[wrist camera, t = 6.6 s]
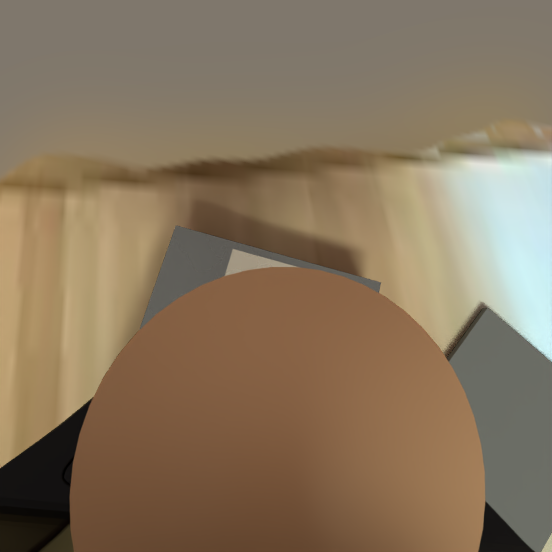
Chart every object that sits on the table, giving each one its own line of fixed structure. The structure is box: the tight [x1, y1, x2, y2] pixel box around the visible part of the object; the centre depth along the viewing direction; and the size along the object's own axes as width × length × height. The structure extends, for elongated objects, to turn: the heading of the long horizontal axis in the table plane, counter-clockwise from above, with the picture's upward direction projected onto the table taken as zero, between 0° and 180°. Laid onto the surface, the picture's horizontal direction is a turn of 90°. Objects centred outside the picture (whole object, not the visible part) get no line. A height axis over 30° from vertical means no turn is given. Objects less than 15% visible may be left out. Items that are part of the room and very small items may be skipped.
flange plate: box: [140, 226, 381, 329], centre depth 21 cm, size 14×14×3 cm
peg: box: [70, 267, 485, 552], centre depth 9 cm, size 4×4×13 cm
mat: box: [447, 308, 552, 552], centre depth 23 cm, size 12×12×1 cm
